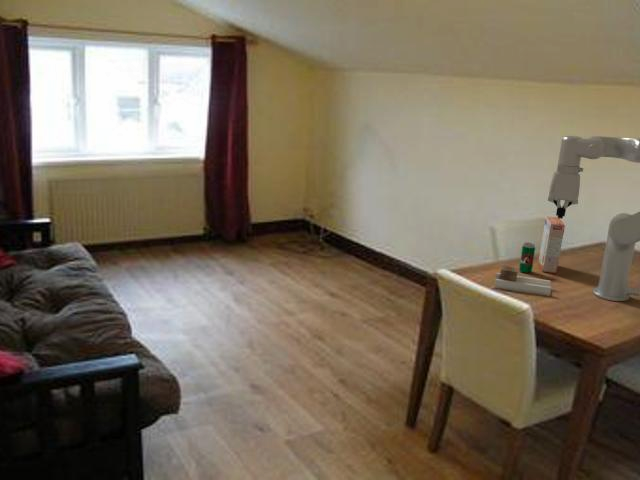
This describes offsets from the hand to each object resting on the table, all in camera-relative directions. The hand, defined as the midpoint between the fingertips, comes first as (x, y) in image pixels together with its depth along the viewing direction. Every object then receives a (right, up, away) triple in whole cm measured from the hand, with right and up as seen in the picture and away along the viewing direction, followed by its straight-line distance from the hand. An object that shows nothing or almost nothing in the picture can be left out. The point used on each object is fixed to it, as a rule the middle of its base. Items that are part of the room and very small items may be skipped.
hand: (560, 217), depth 234 cm
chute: (-14, -27, +2) cm, 30 cm away
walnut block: (-19, -26, +4) cm, 32 cm away
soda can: (-6, -22, +22) cm, 32 cm away
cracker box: (+6, -21, +29) cm, 36 cm away
